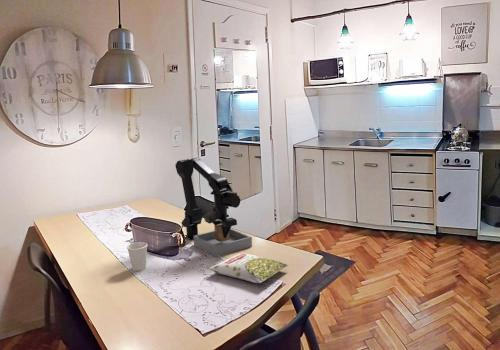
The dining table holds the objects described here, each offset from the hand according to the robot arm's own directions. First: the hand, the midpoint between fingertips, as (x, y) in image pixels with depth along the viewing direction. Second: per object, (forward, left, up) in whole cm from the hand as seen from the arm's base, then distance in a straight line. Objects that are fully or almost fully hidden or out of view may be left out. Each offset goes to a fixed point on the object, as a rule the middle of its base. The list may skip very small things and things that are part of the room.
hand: (222, 236), depth 197 cm
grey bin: (0, 0, -4) cm, 4 cm away
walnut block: (0, 0, -2) cm, 2 cm away
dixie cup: (0, -41, -5) cm, 41 cm away
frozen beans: (+34, -9, -5) cm, 36 cm away
